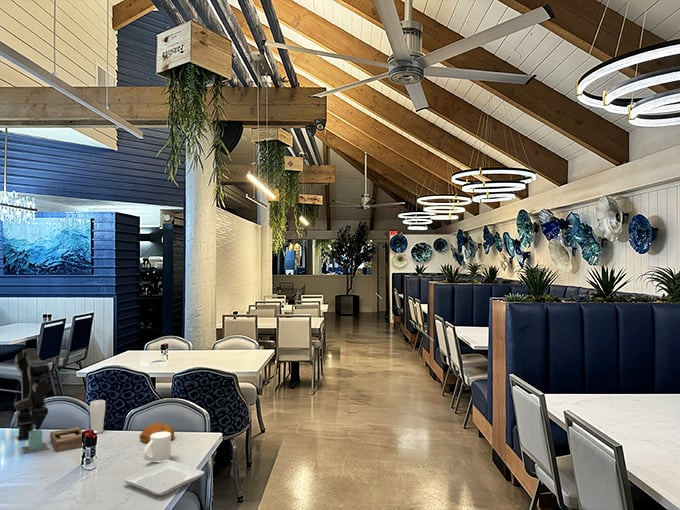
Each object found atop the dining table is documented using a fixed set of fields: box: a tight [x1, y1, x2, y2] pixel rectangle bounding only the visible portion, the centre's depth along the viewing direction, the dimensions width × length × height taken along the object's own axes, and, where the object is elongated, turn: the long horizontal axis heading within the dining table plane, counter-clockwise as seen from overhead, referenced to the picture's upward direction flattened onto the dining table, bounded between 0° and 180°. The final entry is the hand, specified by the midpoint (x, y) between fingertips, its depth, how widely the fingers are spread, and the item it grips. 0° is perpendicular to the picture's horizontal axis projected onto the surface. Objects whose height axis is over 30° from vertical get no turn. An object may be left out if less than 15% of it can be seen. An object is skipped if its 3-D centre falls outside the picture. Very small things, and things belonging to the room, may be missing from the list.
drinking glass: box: [89, 399, 106, 435], centre depth 235 cm, size 7×7×15 cm
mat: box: [21, 442, 49, 455], centre depth 213 cm, size 9×9×1 cm
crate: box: [49, 426, 83, 453], centre depth 219 cm, size 16×12×5 cm
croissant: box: [138, 422, 175, 444], centre depth 227 cm, size 14×16×8 cm
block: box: [27, 429, 43, 450], centre depth 213 cm, size 4×4×7 cm
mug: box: [142, 432, 172, 462], centre depth 201 cm, size 8×10×12 cm
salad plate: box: [122, 459, 205, 496], centre depth 180 cm, size 21×21×3 cm
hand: (36, 427), depth 213 cm, fingers open, 9 cm apart
